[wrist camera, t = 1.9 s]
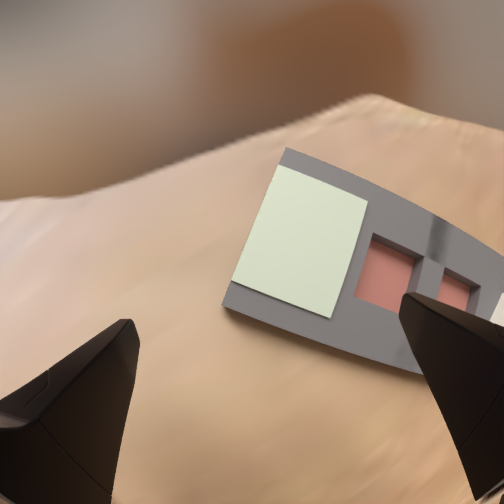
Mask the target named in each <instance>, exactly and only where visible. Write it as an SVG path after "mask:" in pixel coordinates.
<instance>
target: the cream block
mask: <svg viewBox="0 0 504 504" xmlns="http://www.w3.org/2000/svg"><path fill="white" fill-rule="evenodd" d="M490 322H492V323H496V324H498V325H500V326H503V327H504V293H502V295H501V297H500V299H499V302H498V304H497V306H496V308H495V310H494V313H493V315H492V317H491V319H490Z"/></svg>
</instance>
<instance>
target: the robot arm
mask: <svg viewBox="0 0 504 504" xmlns="http://www.w3.org/2000/svg"><path fill="white" fill-rule="evenodd" d="M399 320H400V323H401V325H402V328H403V330H404V333H405V335H406V338H407V340H408V343H409V345H410V348H411V350H412V353H413V355H414V357H415V359H416V361H417V363H418V365H419V367H420V369H421V371H422V373H423V375H424V377H425V379H426V381H427V383H428V385H429V387H430V389H431V391H432V393H433V396H434V398H435V400H436V402H437V404H438V406H439V409H440V411H441V413H442V415H443V418H444V420H445V422H446V425H447V427H448V429H449V432H450V434H451V436H452V439H453V441H454V444H455V446H456V449H457V451H458V454H459V457H460V459H461V462H462V465H463V467H464V470H465V473H466V476H467V479H468V481H469V484H470V487H471V490H472V493H473V496H474V499H475V501H477V500H479V499H480V498H482V497H483V496H485V495H486V494H488V493H489V492H491V491H492V490H494V489H495V488H497V487H498V486H500V485H501V484H502V483H504V327H503V326H500V325H498V324H496V323H492V322H490V321H488V320H485V319H483V318H480V317H478V316H475V315H473V314H470V313H468V312H465V311H463V310H460V309H458V308H455V307H453V306H450V305H448V304H445V303H443V302H440V301H437V300H435V299H432V298H430V297H427V296H424V295H422V294H419V293H417V292H408V293H404V294H403V296H402V300H401V305H400V310H399ZM139 348H140V340H139V336H138V333H137V330H136V327H135V324H134V322H133V320H132V319H120V320H118V321H117V322H115V323H114V324H112V325H111V326H109V327H108V328H106V329H105V330H104V331H102V332H101V333H99V334H98V335H96V336H95V337H93V338H92V339H90V340H89V341H88V342H86V343H85V344H83V345H82V346H80V347H79V348H78V349H76V350H75V351H73V352H72V353H70V354H69V355H67V356H66V357H65V358H63V359H62V360H60V361H59V362H58V363H56V364H55V365H53V366H52V367H50V368H49V370H46V371H45V372H43V373H42V374H40V375H39V376H38V377H36V378H35V379H33V380H32V381H30V382H29V383H27V384H26V385H24V386H22V387H21V388H19V389H18V390H16V391H14V392H13V393H11V394H9V395H8V396H6V397H4V398H3V399H1V400H0V504H111V499H112V496H111V495H112V491H113V485H114V479H115V473H116V467H117V462H118V457H119V451H120V446H121V441H122V436H123V432H124V427H125V422H126V418H127V413H128V409H129V405H130V401H131V396H132V392H133V388H134V384H135V377H136V369H137V362H138V355H139ZM499 504H504V494H503V495H502V496H501V500H500V503H499Z"/></svg>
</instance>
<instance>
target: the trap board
mask: <svg viewBox="0 0 504 504" xmlns="http://www.w3.org/2000/svg"><path fill="white" fill-rule="evenodd" d="M408 292H417V293H419V294H422V295H424V296H427V297H430V298H432V299H435V300H437V301H440V302H443V303H445V304H448V305H450V306H453V307H455V308H458V309H460V310H463V311H465V312H468V313H470V314H473V315H475V316H478V317H480V318H483V319H485V320H488V321H490V319H491V317H492V315H493V313H494V310H495V308H496V306H497V304H498V302H499V299H500V297H501V295H502V293H504V257H503V256H502V255H500V254H499V253H497V252H496V251H494V250H493V249H491V248H490V247H488V246H486V245H485V244H483V243H482V242H480V241H479V240H477V239H475V238H474V237H472V236H471V235H469V234H467V233H466V232H464V231H462V230H461V229H459V228H457V227H456V226H454V225H452V224H450V223H449V222H447V221H445V220H443V219H442V218H440V217H438V216H436V215H435V214H433V213H431V212H429V211H427V210H425V209H424V208H422V207H420V206H418V205H416V204H414V203H412V202H410V201H408V200H406V199H404V198H402V197H400V196H398V195H396V194H394V193H392V192H390V191H388V190H386V189H384V188H382V187H380V186H378V185H376V184H374V183H372V182H369V181H367V180H365V179H363V178H361V177H358V176H356V175H354V174H352V173H349V172H347V171H345V170H343V169H340V168H338V167H336V166H333V165H331V164H328V163H326V162H323V161H321V160H319V159H316V158H314V157H311V156H308V155H306V154H303V153H301V152H298V151H296V150H293V149H290V148H287V147H286V148H285V151H284V153H283V155H282V158H281V160H280V163H279V164H278V167H277V169H276V172H275V174H274V176H273V179H272V181H271V184H270V186H269V188H268V191H267V193H266V196H265V198H264V201H263V203H262V205H261V208H260V210H259V213H258V215H257V218H256V220H255V222H254V225H253V227H252V230H251V232H250V235H249V237H248V240H247V242H246V244H245V247H244V249H243V252H242V254H241V257H240V259H239V262H238V264H237V267H236V269H235V271H234V274H233V276H232V279H231V282H230V285H229V287H228V290H227V292H226V295H225V297H224V299H223V302H222V304H221V305H223V306H225V307H228V308H230V309H232V310H235V311H237V312H240V313H242V314H245V315H248V316H250V317H253V318H255V319H258V320H260V321H263V322H266V323H268V324H271V325H273V326H276V327H279V328H281V329H284V330H287V331H290V332H292V333H295V334H298V335H301V336H303V337H306V338H309V339H312V340H315V341H317V342H320V343H323V344H326V345H329V346H332V347H335V348H338V349H341V350H344V351H347V352H350V353H353V354H356V355H359V356H362V357H365V358H368V359H371V360H375V361H378V362H381V363H384V364H388V365H391V366H394V367H398V368H401V369H404V370H408V371H411V372H415V373H418V374H422V375H423V373H422V371H421V369H420V367H419V365H418V363H417V361H416V359H415V357H414V355H413V353H412V350H411V348H410V345H409V343H408V340H407V338H406V335H405V333H404V330H403V328H402V325H401V323H400V320H399V310H400V305H401V300H402V296H403V294H404V293H408Z"/></svg>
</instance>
